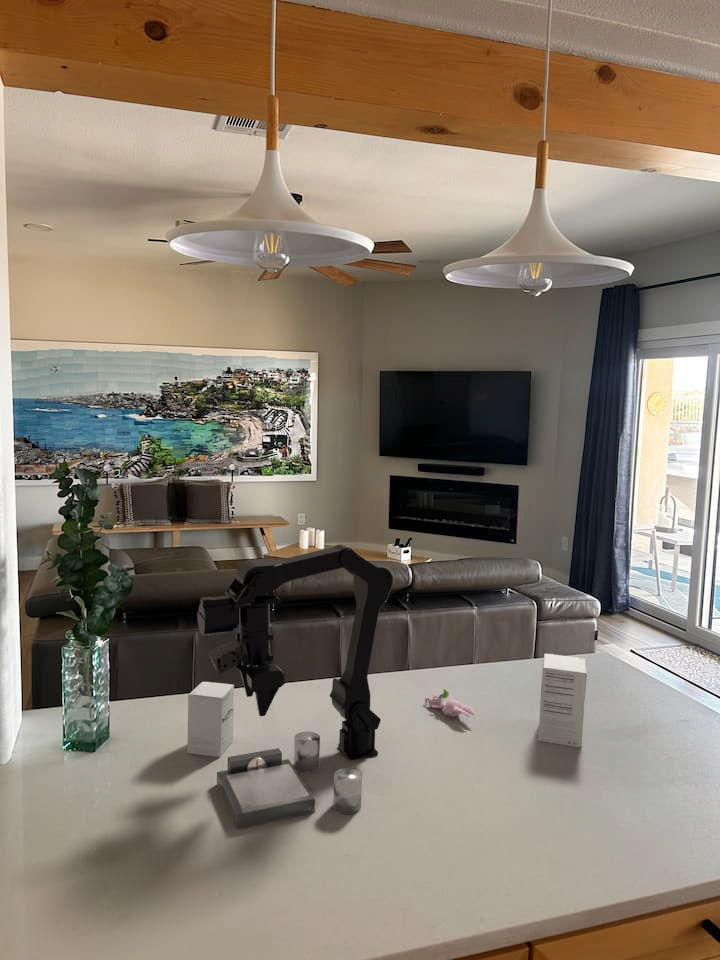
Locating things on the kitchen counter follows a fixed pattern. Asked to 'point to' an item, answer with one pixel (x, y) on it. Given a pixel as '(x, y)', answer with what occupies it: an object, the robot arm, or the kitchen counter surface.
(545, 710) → the supplement box
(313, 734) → the cylinder
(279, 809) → the dial scale
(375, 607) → the robot arm
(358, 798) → the cylinder
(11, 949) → the kitchen counter surface
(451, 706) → the rabbit figure
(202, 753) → the supplement box
